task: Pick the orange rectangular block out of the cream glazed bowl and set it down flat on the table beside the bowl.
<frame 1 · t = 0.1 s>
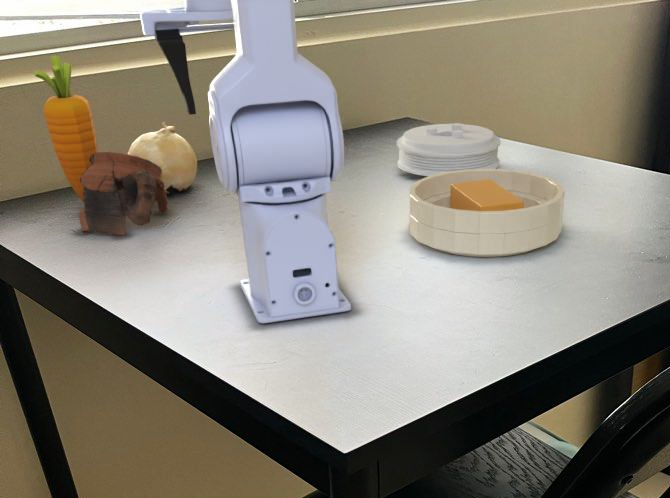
hand: (228, 109, 92), 10 cm above the table, tool pointing down, fingers open, 7 cm apart
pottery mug: (131, 226, 94), on the table
carrot: (90, 207, 100), on the table
orange rectangular block: (484, 229, 88), point 1 cm above the table, touching bowl
lid: (448, 172, 108), on the table
bowl: (484, 234, 89), on the table
onion: (167, 192, 104), on the table
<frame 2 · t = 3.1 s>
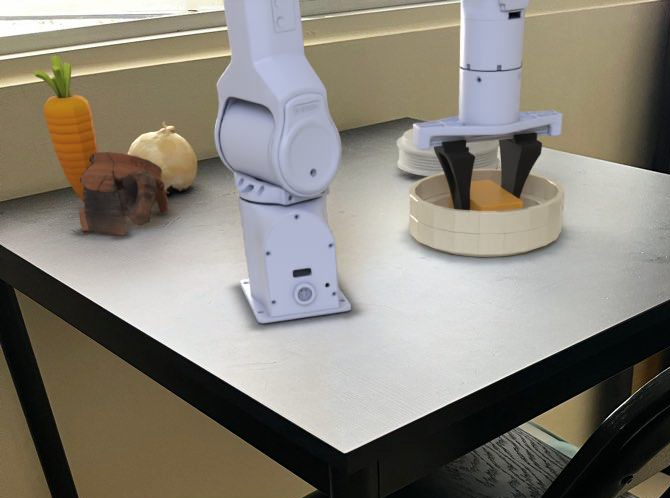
hand: (485, 217, 88), 2 cm above the table, tool pointing down, fingers closed on orange rectangular block, 4 cm apart
orange rectangular block: (484, 229, 88), point 1 cm above the table, touching bowl, gripper
everything else where it was.
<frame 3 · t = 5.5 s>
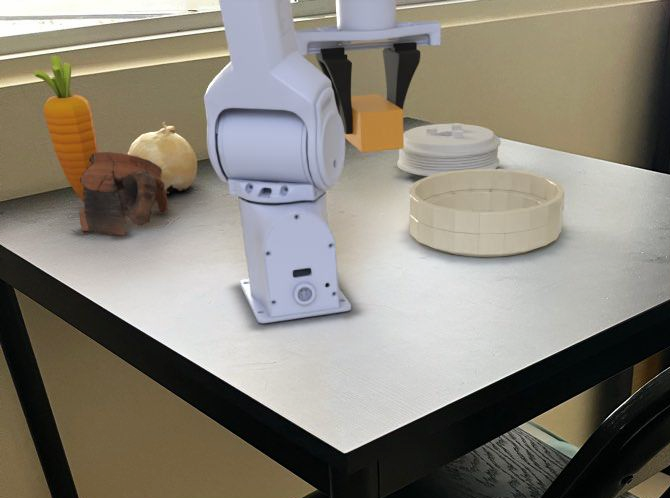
hand: (371, 129, 89), 9 cm above the table, tool pointing down, fingers closed on orange rectangular block, 4 cm apart
orange rectangular block: (371, 141, 90), point 8 cm above the table, touching gripper
everything else where it was.
when the fingers open (1 cm above the table, at t = 7.8 s): orange rectangular block stays where it is, on the table.
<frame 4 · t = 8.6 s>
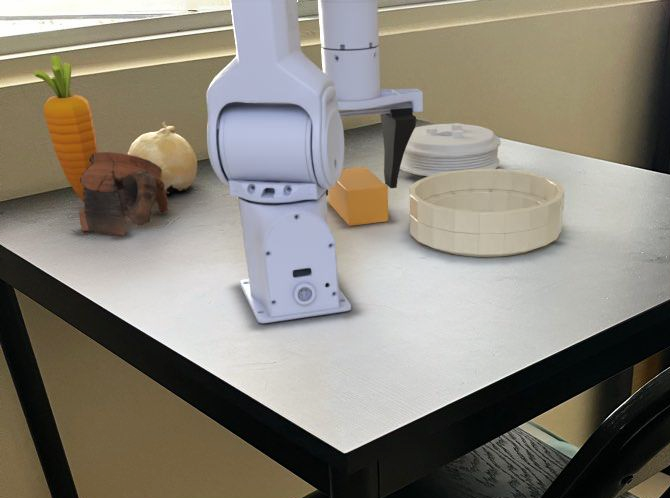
hand: (357, 189, 94), 2 cm above the table, tool pointing down, fingers open, 7 cm apart
orange rectangular block: (358, 212, 96), on the table
everything else where it was.
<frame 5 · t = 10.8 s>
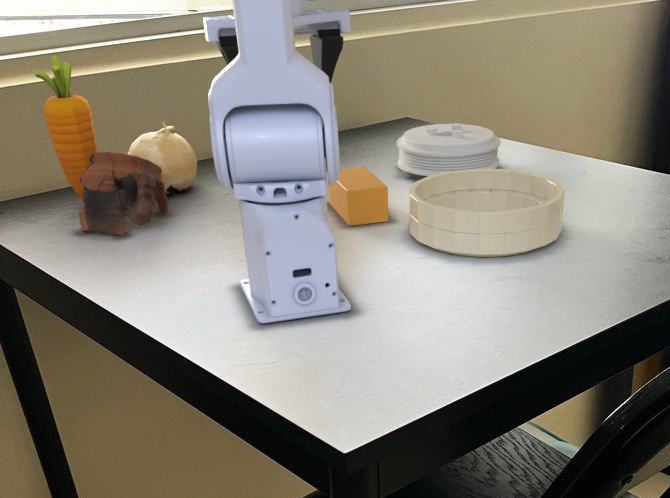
hand: (286, 115, 92), 9 cm above the table, tool pointing down, fingers open, 7 cm apart
nothing on the table moved.
at the end: orange rectangular block inside the target area (0.1 cm from its centre), on the table; orange rectangular block touching table; orange rectangular block tilted 0° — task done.
